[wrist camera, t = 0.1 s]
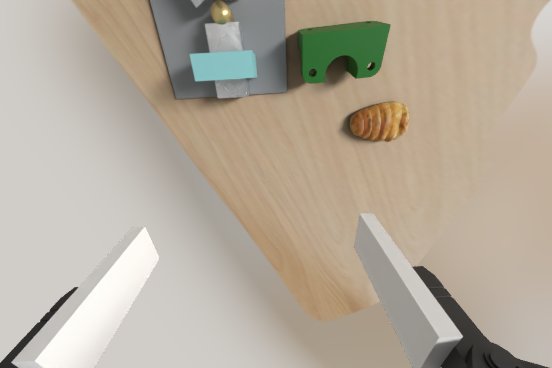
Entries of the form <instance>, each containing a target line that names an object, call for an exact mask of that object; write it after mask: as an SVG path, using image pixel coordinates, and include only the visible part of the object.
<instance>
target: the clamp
mask: <svg viewBox="0 0 552 368" xmlns="http://www.w3.org/2000/svg"><path fill="white" fill-rule="evenodd" d="M389 29H390V24H386V23H382V22H377V21H366V22H357V23H349V24H341V25H332V26H324V27H316V28H307V29H301V30H298V44H299V49H300V51H301V73H302V76H303V78H304V80H305V81H306V82H307V83H321V82H325V72H326V69H327V67H328V65H329V64H330V63H331V62H332V61H333V60H334V59H335V58H337V57H339V56H342V55H347V58H348V67H347V71H348V72H349V73H350V74H351V75H352V76H353V77H355V78H365V77H371V76H374V75H375V74H376V73H377V72H378V71H379V69H380V67H381V64H382V59H383V55H384V51H385V46H386V42H387V37H388V33H389ZM370 62H371V66H370V67H369V68H367V66H368V64H369V63H370ZM311 69H315V72H314V73H313V74H311V75H310V74H309V71H310V70H311Z"/></svg>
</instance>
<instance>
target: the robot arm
mask: <svg viewBox="0 0 552 368" xmlns="http://www.w3.org/2000/svg"><path fill="white" fill-rule="evenodd" d="M354 248H355V250H356V252H357V254H358V256H359V258H360V260H361V262H362V264H363V266H364V268H365V270H366V273H367V275H368V277H369V279H370V281H371V283H372V285H373V287H374V289H375V291H376V293H377V295H378V297H379V299H380V301H381V303H382V305H383V308H384V310H385V312H386V314H387V316H388V318H389V320H390V322H391V324H392V326H393V328H394V330H395V332H396V334H397V336H398V338H399V340H400V343H401V345H402V347H403V349H404V351H405V353H406V355H407V357H408V359H409V361H410V363H411V365H412V367H413V368H441V367H442V368H548V367H544V366H541V365H538V364H534V363H530V362H527V361H523V360H520V359H517V358H515V357H514V356H513V355H512V354H510V353H509V352H508V351H507V350H505V349H503V348H502V347H500V346H498V345H497V344H494V343H491V342H490V341H489V340H488V339H487V338H486V337H485V336H484V335H483V334H482V333H481V331H480V330H479V329H478V328H477V327H476V325H475V324H474V323H473V322H472V320H471V319H470V318H469V317H468V316H467V314H466V313H465V312H464V311H463V309H462V308H461V307H460V306H459V305H458V303H457V302H456V301H455V300H454V299H453V298H452V297H451V295H450V294H449V292H448V291H447V290H446V289H444V287H443V285H442V284H441V283H440V281H439V280H438V279H437V278H436V276H435V275H434V274H432V273H431V272H430V271H428V270H427V269H426V268H424V267H423V266H418V267H412V266H411V265H410V263H409V262H408V261H407V259H406V258H405V257H404V255H403V254H402V253H401V251H400V250H399V248H398V247H397V246H396V244H395V243H394V242H393V240H392V239H391V238H390V236H389V235H388V234H387V232H386V231H385V229H384V228H383V227H382V225H381V224H380V223H379V221H378V220H377V219H376V217H375V216H374V214H373V213H363V214H360V215H359V221H358V227H357V233H356V239H355V244H354ZM158 260H159V256H158V254H157V252H156V250H155V248H154V246H153V243H152V241H151V239H150V237H149V235H148V233H147V230H146V228H145V227H133V228H131V229H130V231H129V232H128V233H127V234H126V235H125V236H124V237H123V238H122V240H121V241H120V242H119V243H118V244H117V245H116V246H115V247H114V249H113V250H112V251H111V252H110V253H109V254H108V255H107V256H106V257H105V258H104V260H103V261H102V262H101V263H100V264H99V265H98V266H97V267H96V269H95V270H94V271H93V272H92V273H91V274H90V275H89V276H88V277H87V279H86V280H85V281H84V282H83V283H82V284H81V285H80V286H79V287H75V288H73V289H72V290H71V291H69V292H68V293H67V294H65V295H64V296H63V297H62V298H60V300H59V301H58V302H57V303H56V304H55V305H54V306H53V307H52V308H51V309H50V312H48V313H46V314H45V316H44V317H43V318H42V319H41V320H40V322H39V323H37V324H36V325H35V326H34V327H33V328H32V330H31V331H30V332H29V333H28V334H27V335H26V336H25V337H24V338H23V339H22V340H21V341H20V342H19V343H18V344H17V346H16V347H15V348H14V349H13V350H12V351H11V352H10V353H9V354H8V355H7V356H6V357H5V359H4V360H3V361H2V362H1V363H0V368H94V367H95V365H96V364H97V362H98V360H99V359H100V357H101V355H102V354H103V352H104V350H105V349H106V347H107V345H108V344H109V342H110V340H111V339H112V337H113V335H114V334H115V332H116V330H117V328H118V327H119V325H120V324H121V322H122V320H123V319H124V317H125V315H126V314H127V312H128V310H129V308H130V307H131V305H132V304H133V302H134V300H135V299H136V297H137V295H138V294H139V292H140V290H141V289H142V287H143V285H144V284H145V282H146V280H147V279H148V277H149V275H150V273H151V272H152V270H153V269H154V267H155V265H156V264H157V262H158Z"/></svg>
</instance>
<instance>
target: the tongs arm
mask: <svg viewBox="0 0 552 368" xmlns="http://www.w3.org/2000/svg"><path fill="white" fill-rule="evenodd" d="M191 1H192V2H193V4H194V5H195V7H196V8H197V9H198V10H199V11H200V12H201V13H202V14H204V15H205V14H206V13H207V12H208V11H209V10H210V9H211V6H212V4H213V1H212V0H191Z"/></svg>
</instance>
